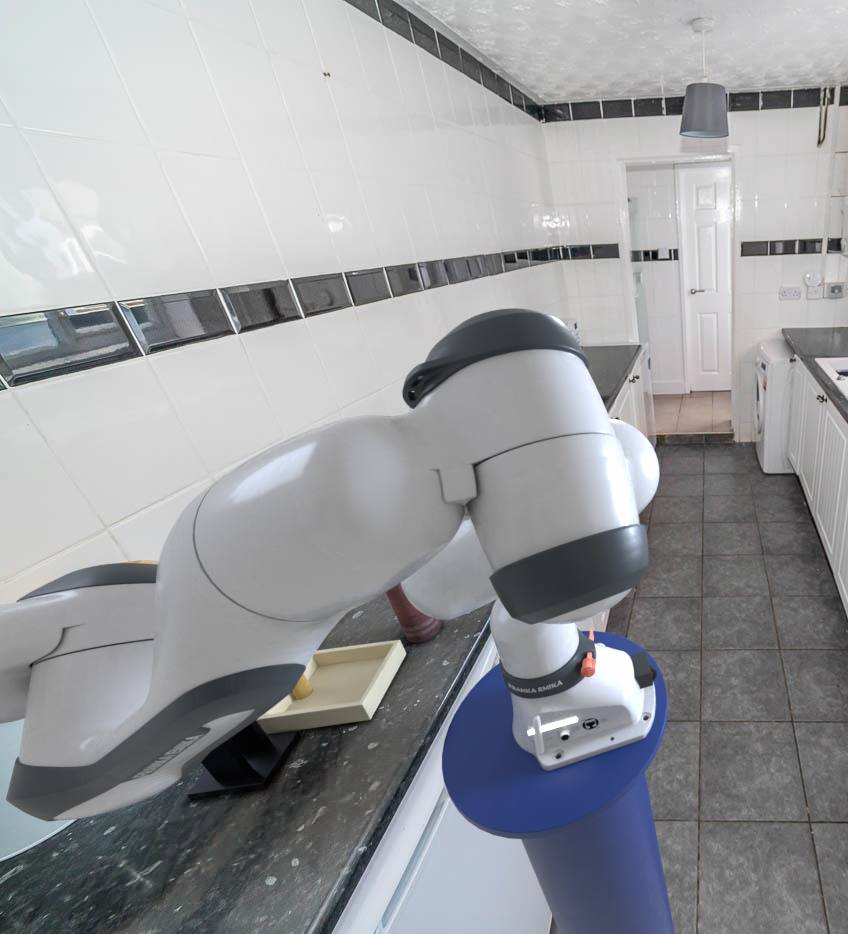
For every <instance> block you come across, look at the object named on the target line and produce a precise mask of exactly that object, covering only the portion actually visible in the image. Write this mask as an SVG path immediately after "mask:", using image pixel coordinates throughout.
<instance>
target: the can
mask: <svg viewBox="0 0 848 934" xmlns="http://www.w3.org/2000/svg"><path fill="white" fill-rule="evenodd" d="M385 594H386V596H387V599H388V601H389V603H390V605H391V607H392V609H393V612H394V614H395V616H396V618H397V620H398V623H399V625H400V627H401V629H402V631H403V634H404V635H405V638H406V640H407V641H409V642H410V643H414V644H420V643H421V644H422V643H424V642H427V641H429V640H431V639H432V638H434V637H435V636H436V635H438V633H439V632H440V629H441V627H442V622H441V620H440V619H436V618H432V617H430V616H427V615H425V614H423V613H422V612H420V611H419V610H417V609H416V608H415V607H414V606H413V605H412V604H411V603H410V602H409V601H408V599H407V598H406V596H405V594H404V592H403V589H402V586H401V583H399V584H398V585H396V586H395V587H393V588H392V589H390V590H388V591H387V592H385Z"/></svg>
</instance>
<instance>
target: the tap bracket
mask: <svg viewBox="0 0 848 934" xmlns="http://www.w3.org/2000/svg"><path fill="white" fill-rule="evenodd" d="M301 737H302V735H301V733H300V731H299V730H296V731H289V732H282V733H275V734H267V733H266V731H265V730H264V729H263V727H262V726H261V724H260V723H259V722H258V720H257V719H256V720H255V721H254V722H252V723H251V724H249V725H248V726H246V727H245V728H244V729H242V730H241V731H239V732H238V733H237V734H235V735H234V736H232V737H231V738H229V739H228V740H227V741H225V742H224V743H222V744H221V745H219V746H218V747H216V748H215V749H214V750H212V751H211V752H210V753H209V754H208V755H207V756H206V757H205V758H204V759H203V761H202V762H201V763H200V764H202V766H203V767H204V769H205V770H204V771H203V773H202V774H201V776H200V777H199V778H198V779H197V780H196V782H195V783H194V784H193V786H192V787H191V788H190V789H189V791H188V792H187V793H186V794H185V795H186V797H187V798H188V799H189V800H190V801H195V800H200V799H208V798H214V797H221V796H227V795H228V796H229V795H234V794H241V793H247V792H254V791H261V790H266V789H268V788H269V786H270V784H271V783H272V782H273V780H274V778H275V777H276V775H277V774H278V772H279V770H281V768H282V766H283V765H284V763H285V762H286V760H287V758H288V757H289V756H290V754H291V753H292V751H293V749H294V748H295V746H296V745H297V744H298V742H299V741H300V739H301Z"/></svg>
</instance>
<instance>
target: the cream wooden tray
mask: <svg viewBox="0 0 848 934" xmlns="http://www.w3.org/2000/svg"><path fill="white" fill-rule="evenodd" d="M406 655H407V652H406V649H405V648H404V644H403V643H402V641H401V639H396V640H386V641H377V642H371V643H364V644H363V643H362V644H356V645H348V646H341V647H334V648H326V649H317V651H316V652H315V654H314V655H313V657H312V658H311V660H310V661H309V663H308V664H307V666H306V670H305V671H304V673H303V674H304V675H305V677H306V679H307V680H308V682H309V684H310V685H311V687H312V689H313V691H312V693H311V694H310V695H309V696H308V697H306V698H304V699H301V700H297V699H296V698H295V697H294V695H293V693H292V692H291V693H290V694H289V695H288V696H287V697H285V698H284V699H283V700H282V701H280V702H279V703H278V704H277V705H275V706H274V707H273V708H271V709H270V710H269V711H267V712H266V713H265V714H263V715H262V716H261V717H259V718H258V719H256V721H257V723H258V724H259V725H260V727H261V728H262V730H263V731H264V732H265V734H266V735H274V734H280V733H287V732H294V731H301V730H310V729H317V728H323V727H330V726H338V725H342V724H350V723H358V722H364V721H370V720H372V718H373V715H374V714H375V712H376V711H377V708H378V707H379V705H380V703H381V702H382V699H384V696H385V694H386V692H387V691H388V689H389V687H390V685H391V683H392V681H393V680H394V678H395V676H396V674H397V672H398V670H399V669H400V668H401V667H400V666H401V665H402V663H403V661H404V659H405V658H406Z"/></svg>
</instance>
